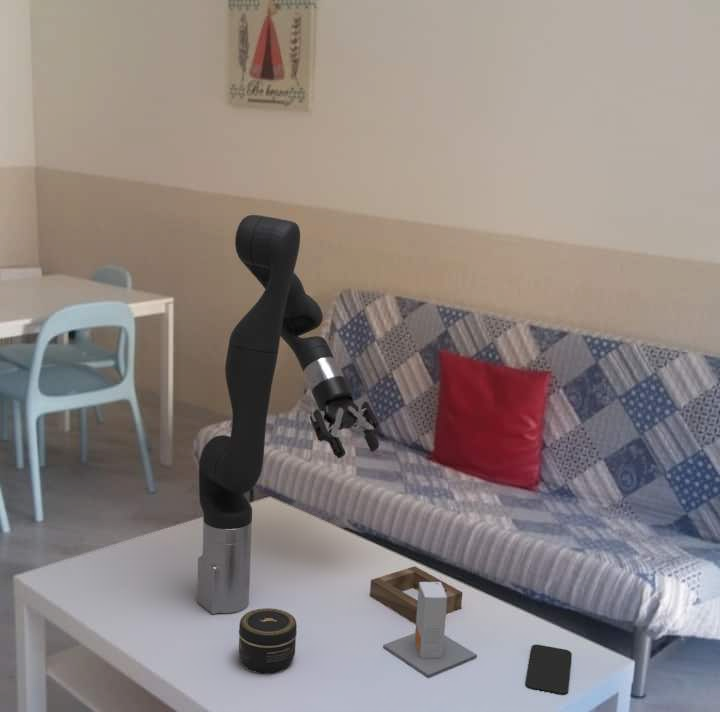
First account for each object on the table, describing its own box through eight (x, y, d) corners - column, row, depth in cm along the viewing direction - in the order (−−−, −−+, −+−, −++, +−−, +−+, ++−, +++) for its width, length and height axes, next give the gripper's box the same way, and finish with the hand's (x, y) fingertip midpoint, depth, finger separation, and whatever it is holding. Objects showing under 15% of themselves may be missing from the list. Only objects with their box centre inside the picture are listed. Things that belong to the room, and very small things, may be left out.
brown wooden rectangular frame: (416, 624, 185) (417, 607, 184) (369, 595, 195) (370, 579, 194) (461, 608, 192) (462, 592, 191) (413, 581, 203) (414, 566, 202)
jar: (228, 653, 171) (230, 613, 169) (279, 641, 176) (281, 602, 174) (252, 681, 162) (253, 640, 161) (305, 668, 167) (307, 627, 166)
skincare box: (413, 641, 177) (418, 581, 175) (436, 641, 178) (441, 581, 175) (419, 658, 171) (424, 596, 169) (442, 658, 172) (448, 596, 169)
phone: (524, 686, 165) (531, 643, 180) (523, 690, 166) (531, 647, 180) (568, 694, 164) (572, 650, 178) (567, 698, 164) (571, 654, 178)
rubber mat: (428, 677, 167) (428, 674, 166) (383, 647, 176) (383, 644, 175) (476, 657, 174) (477, 654, 174) (431, 629, 183) (431, 626, 183)
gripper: (307, 378, 192) (339, 449, 186) (363, 371, 201) (395, 438, 195) (291, 397, 198) (321, 467, 192) (346, 389, 206) (377, 456, 200)
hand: (359, 452), depth 193 cm, fingers open, 8 cm apart
